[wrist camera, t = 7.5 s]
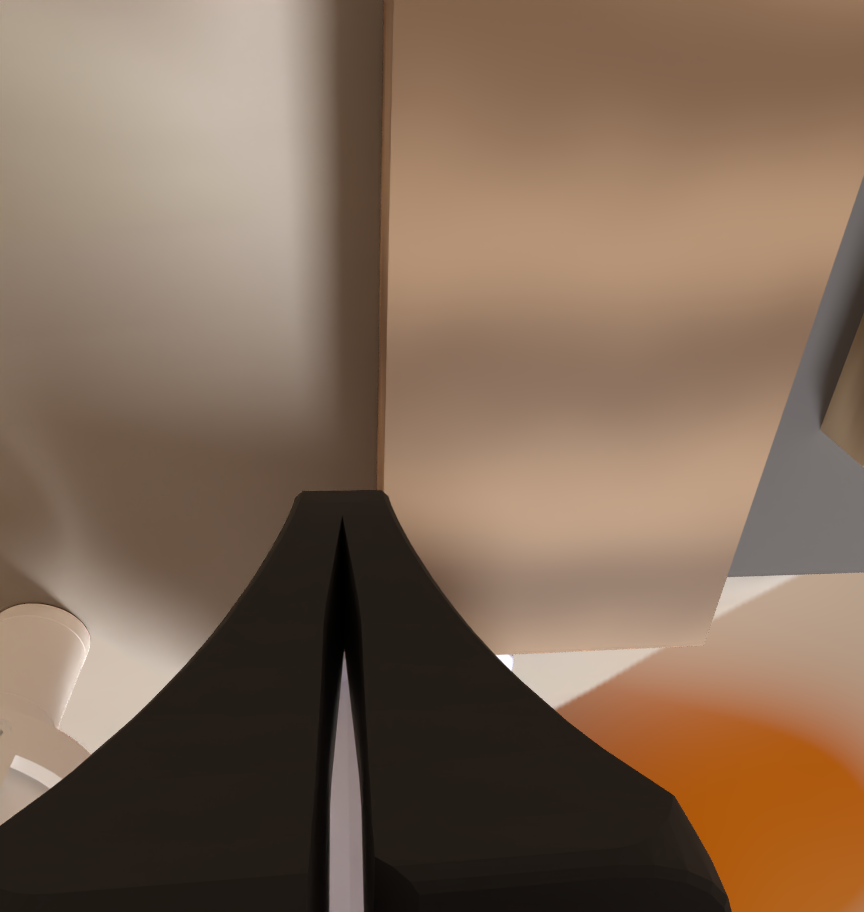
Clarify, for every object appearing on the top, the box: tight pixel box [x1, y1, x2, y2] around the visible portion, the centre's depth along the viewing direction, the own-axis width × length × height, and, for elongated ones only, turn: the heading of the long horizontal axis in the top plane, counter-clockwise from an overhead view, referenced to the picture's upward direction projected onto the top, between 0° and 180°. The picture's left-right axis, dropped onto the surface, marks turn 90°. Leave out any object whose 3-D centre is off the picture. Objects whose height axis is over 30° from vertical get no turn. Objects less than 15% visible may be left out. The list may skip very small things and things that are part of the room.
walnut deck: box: [377, 0, 864, 655], centre depth 19 cm, size 18×10×4 cm, turn 177°
